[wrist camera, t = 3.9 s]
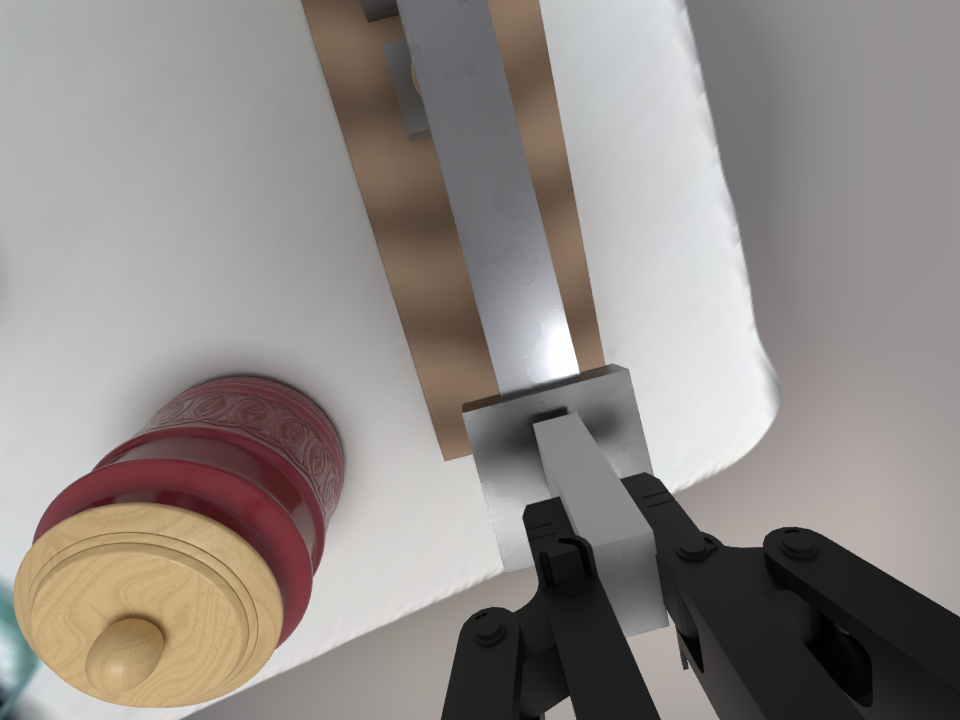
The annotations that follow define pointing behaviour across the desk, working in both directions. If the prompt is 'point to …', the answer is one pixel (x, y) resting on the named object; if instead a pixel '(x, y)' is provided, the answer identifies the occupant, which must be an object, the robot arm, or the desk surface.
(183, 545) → the canister
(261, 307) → the desk surface
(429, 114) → the lever
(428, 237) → the base
